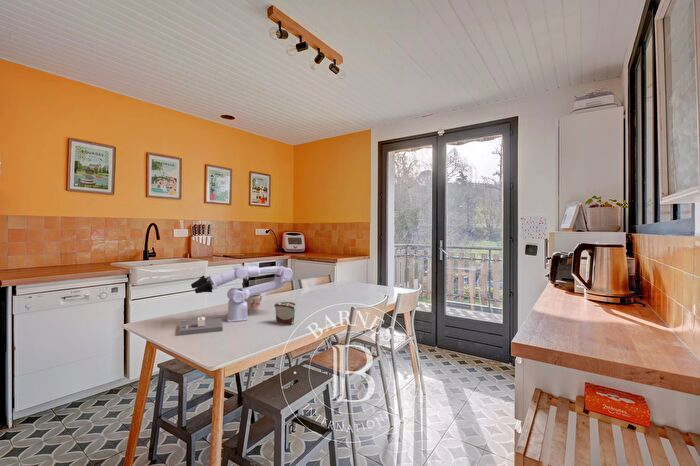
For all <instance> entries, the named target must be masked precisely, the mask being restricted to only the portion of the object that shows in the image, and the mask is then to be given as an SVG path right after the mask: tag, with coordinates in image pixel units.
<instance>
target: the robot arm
mask: <svg viewBox="0 0 700 466" xmlns="http://www.w3.org/2000/svg"><path fill="white" fill-rule="evenodd" d="M262 274H274V278H273V280H270V281H266V282H263V283H258V284H255V285H252V286H251V285H250V286H247V287H238V288H236V287H231V288H229V289H228V291H227V295H226V296H227V298H228V303H227V305H228V306H227V314H228V315H227V316H226V320H227V323H231V322H233V323H234V322H242V321H248V310H247V302H245V299H247V298H248V297H250V296H253V295H257V294H260V295H262V294H264V293H268V292H270V291H274V290H277V289H281V288H282V287H283V286H284V285H285V284H286V283H287V282H289V281H291V279H292V277H293V270H292V269H291V268H289V267H285V266H283V265H280V266H279V265H274V266H273V265H272V266H265V267H259V266H258V265H255V264H251V265H249V266H248V265H247V266H246V265H243V266H242V267H241V266H234V267H233V268H232V269H229V270H226V271H222V272H220V273H216V274H214V275H211V274H208V275H207V276H204V275H202V276H201V277H200V278H198V279H196V281H193V282H192V283H191V284H190V286H191V289H194V292H195V294H202V293H213V290H216V289H218V287H219V286H222V285H225V284H228V283H230V282H233V281H235V280H237V279H241V280H243V279H245V278H253V277H258V276H259V275H262Z"/></svg>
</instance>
